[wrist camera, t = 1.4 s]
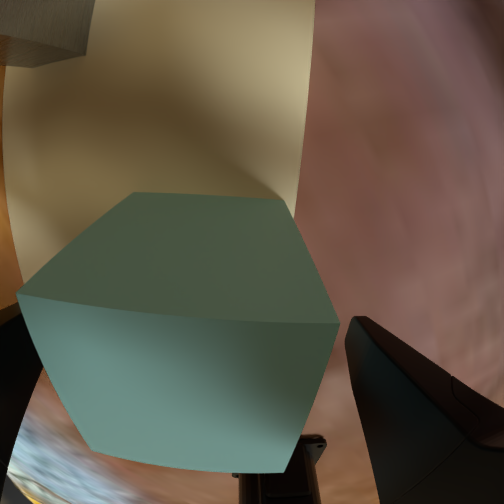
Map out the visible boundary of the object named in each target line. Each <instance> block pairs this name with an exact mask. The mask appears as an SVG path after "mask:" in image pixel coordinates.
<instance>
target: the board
mask: <svg viewBox="0 0 504 504" xmlns="http://www.w3.org/2000/svg"><path fill="white" fill-rule="evenodd" d="M314 12H315V0H95V4H94V9H93V14H92V20H91V25H90V31H89V37H88V44H87V52H86V56H81V57H76V58H71V59H67V60H62V61H58V62H54V63H50V64H46V65H43V66H39V67H35V68H25V67H15V66H6V72H5V82H4V94H3V116H2V143H3V165H4V178H5V188H6V197H7V205H8V212H9V218H10V224H11V230H12V235H13V240H14V245H15V250H16V254H17V259H18V263H19V267H20V271H21V275H22V279H23V282H24V284H25V283H26V282H27V281H28V280H29V279H30V278H31V277H32V276H33V275H34V274H35V273H37V272H38V271H39V270H40V269H41V268H42V267H43V266H44V265H45V264H46V263H47V262H48V261H49V260H51V259H52V258H53V257H54V256H55V255H56V254H57V253H58V252H59V251H61V250H62V249H63V248H64V247H65V246H66V245H67V244H69V243H70V242H71V241H72V240H73V239H74V238H76V237H77V236H78V235H79V234H80V233H82V232H83V231H84V230H85V229H86V228H88V227H89V226H90V225H91V224H93V223H94V222H95V221H96V220H98V219H99V218H100V217H101V216H103V215H104V214H105V213H106V212H108V211H109V210H110V209H112V208H113V207H114V206H115V205H117V204H118V203H119V202H121V201H122V200H123V199H125V198H126V197H127V196H129V195H130V194H131V193H133V192H151V193H179V194H201V195H219V196H235V197H249V198H263V199H275V200H284V201H285V203H286V205H287V207H288V209H289V211H290V213H291V215H292V217H293V219H294V212H295V204H296V196H297V189H298V181H299V172H300V164H301V155H302V147H303V138H304V128H305V119H306V109H307V99H308V88H309V77H310V66H311V54H312V41H313V27H314Z"/></svg>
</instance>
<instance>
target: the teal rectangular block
mask: <svg viewBox="0 0 504 504" xmlns="http://www.w3.org/2000/svg"><path fill="white" fill-rule="evenodd" d="M16 296H17V299H18V302H19V305H20V308H21V311H22V314H23V317H24V320H25V322H26V325H27V328H28V330H29V333H30V335H31V338H32V340H33V343H34V345H35V348H36V350H37V352H38V355H39V357H40V359H41V361H42V364H43V366H44V368H45V370H46V372H47V374H48V376H49V378H50V380H51V382H52V384H53V386H54V388H55V390H56V392H57V394H58V396H59V398H60V400H61V401H62V403H63V405H64V407H65V409H66V410H67V412H68V414H69V416H70V417H71V419H72V421H73V422H74V424H75V426H76V427H77V429H78V430H79V432H80V434H81V435H82V437H83V438H84V440H85V441H86V443H87V444H88V446H89V447H90V449H91V450H92V451H95V452H99V453H103V454H106V455H110V456H114V457H119V458H123V459H128V460H132V461H137V462H142V463H148V464H154V465H160V466H166V467H173V468H181V469H189V470H199V471H211V472H228V473H284V471H285V469H286V467H287V465H288V462H289V460H290V458H291V456H292V453H293V451H294V449H295V447H296V444H297V442H298V440H299V437H300V435H301V432H302V430H303V428H304V425H305V423H306V420H307V418H308V415H309V413H310V410H311V407H312V405H313V402H314V400H315V397H316V394H317V392H318V389H319V386H320V383H321V380H322V378H323V375H324V372H325V369H326V366H327V363H328V360H329V357H330V354H331V351H332V348H333V345H334V342H335V339H336V336H337V332H338V329H339V326H340V321H339V319H338V317H337V314H336V312H335V310H334V307H333V305H332V303H331V300H330V298H329V296H328V294H327V291H326V289H325V287H324V285H323V282H322V280H321V278H320V276H319V273H318V271H317V269H316V267H315V264H314V262H313V260H312V258H311V256H310V253H309V251H308V249H307V247H306V245H305V243H304V241H303V238H302V236H301V234H300V232H299V230H298V228H297V226H296V224H295V221H294V219H293V217H292V215H291V213H290V211H289V209H288V207H287V205H286V203H285V201H284V200H275V199H263V198H249V197H235V196H219V195H201V194H179V193H151V192H133V193H131V194H130V195H129V196H127V197H126V198H125V199H123V200H122V201H121V202H119V203H118V204H117V205H115V206H114V207H113V208H112V209H110V210H109V211H108V212H106V213H105V214H104V215H103V216H101V217H100V218H99V219H98V220H96V221H95V222H94V223H93V224H91V225H90V226H89V227H88V228H86V229H85V230H84V231H83V232H82V233H80V234H79V235H78V236H77V237H76V238H74V239H73V240H72V241H71V242H70V243H69V244H67V245H66V246H65V247H64V248H63V249H62V250H61V251H59V252H58V253H57V254H56V255H55V256H54V257H53V258H52V259H51V260H49V261H48V262H47V263H46V264H45V265H44V266H43V267H42V268H41V269H40V270H39V271H38V272H37V273H35V274H34V275H33V276H32V277H31V278H30V279H29V280H28V281H27V282H26V283H25V284H24V285H23V286H22V287H21V288H20V289H19V290H18V291H17V292H16Z"/></svg>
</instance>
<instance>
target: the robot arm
mask: <svg viewBox="0 0 504 504" xmlns="http://www.w3.org/2000/svg"><path fill="white" fill-rule="evenodd" d="M345 350H346V356H347V361H348V368H349V374H350V380H351V386H352V390H353V394H354V398H355V402H356V405H357V409H358V413H359V417H360V420H361V424H362V428H363V432H364V436H365V440H366V444H367V448H368V452H369V456H370V460H371V464H372V469H373V473H374V477H375V482H376V486H377V491H378V496H379V500H380V504H504V408H503V407H501V406H499V405H497V404H496V403H494V402H492V401H491V400H489V399H487V398H486V397H484V396H482V395H481V394H479V393H477V392H476V391H474V390H473V389H471V388H470V387H468V386H467V385H465V384H464V383H462V382H461V381H459V380H458V379H457V378H455V377H454V376H451V374H449V373H448V372H447V371H445V370H444V369H442V368H441V367H439V366H438V365H437V364H435V363H434V362H432V361H431V360H429V359H428V358H426V357H425V356H424V355H422V354H421V353H419V352H418V351H416V350H415V349H413V348H412V347H411V346H409V345H408V344H406V343H405V342H403V341H402V340H400V339H399V338H398V337H396V336H395V335H393V334H392V333H390V332H389V331H387V330H386V329H384V328H383V327H382V326H380V325H379V324H377V323H376V322H374V321H373V320H371V319H370V318H368V317H367V316H354V317H353V318H352V319H351V322H350V325H349V328H348V331H347V334H346V337H345ZM43 367H44V366H43V364H42V361H41V359H40V357H39V355H38V352H37V350H36V348H35V345H34V343H33V340H32V338H31V335H30V333H29V330H28V328H27V325H26V322H25V320H24V317H23V314H22V311H21V308H20V305H19V302H17V303H15V304H13V305H10V306H8V307H6V308H4V309H2V310H0V501H1V496H2V491H3V487H4V482H5V478H6V474H7V470H8V468H7V467H8V466H9V462H10V458H11V455H12V451H13V448H14V444H15V441H16V438H17V435H18V432H19V429H20V426H21V423H22V420H23V417H24V414H25V412H26V409H27V406H28V403H29V401H30V398H31V396H32V393H33V391H34V388H35V386H36V383H37V381H38V378H39V376H40V374H41V371H42V369H43ZM326 446H327V442H326V440H325V439H309V440H298V442H297V444H296V447H295V449H294V451H293V453H292V456H291V458H290V460H289V462H288V465H287V467H286V469H285V471H284V473H232V477H235V478H239V504H321V499H320V493H319V487H318V481H317V475H316V469H315V464H316V463H317V461H318V460H319V458H320V456H321V455H322V453H323V451H324V450H325V448H326Z"/></svg>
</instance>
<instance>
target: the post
mask: <svg viewBox="0 0 504 504" xmlns="http://www.w3.org/2000/svg"><path fill="white" fill-rule="evenodd" d="M94 4H95V0H0V65H2V66H15V67H25V68H35V67H39V66H43V65H46V64H50V63H54V62H58V61H62V60H67V59H71V58H76V57H81V56H86V52H87V44H88V37H89V31H90V25H91V20H92V14H93V9H94Z"/></svg>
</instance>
